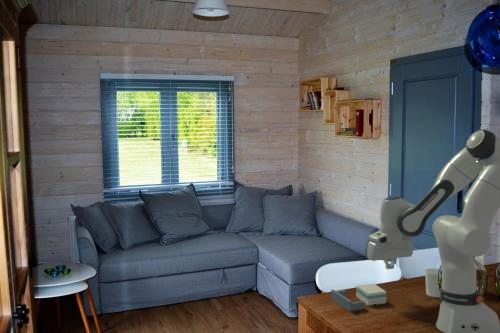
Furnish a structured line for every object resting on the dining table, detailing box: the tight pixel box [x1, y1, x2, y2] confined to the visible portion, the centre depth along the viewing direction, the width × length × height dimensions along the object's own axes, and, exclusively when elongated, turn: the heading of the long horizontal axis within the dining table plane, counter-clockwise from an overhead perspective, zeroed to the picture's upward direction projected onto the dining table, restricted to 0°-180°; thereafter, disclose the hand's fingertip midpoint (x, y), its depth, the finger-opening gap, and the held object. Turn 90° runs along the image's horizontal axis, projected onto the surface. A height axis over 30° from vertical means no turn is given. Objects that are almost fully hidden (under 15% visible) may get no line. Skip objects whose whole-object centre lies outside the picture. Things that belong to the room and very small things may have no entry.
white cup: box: [424, 268, 440, 299], centre depth 205 cm, size 8×8×10 cm
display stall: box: [330, 289, 365, 313], centre depth 197 cm, size 6×14×4 cm, turn 21°
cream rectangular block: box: [355, 283, 387, 306], centre depth 201 cm, size 8×10×5 cm
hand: (389, 268), depth 204 cm, fingers closed
